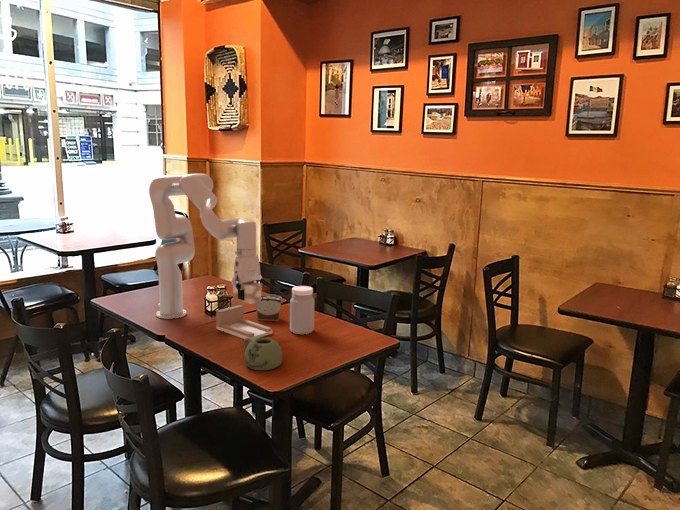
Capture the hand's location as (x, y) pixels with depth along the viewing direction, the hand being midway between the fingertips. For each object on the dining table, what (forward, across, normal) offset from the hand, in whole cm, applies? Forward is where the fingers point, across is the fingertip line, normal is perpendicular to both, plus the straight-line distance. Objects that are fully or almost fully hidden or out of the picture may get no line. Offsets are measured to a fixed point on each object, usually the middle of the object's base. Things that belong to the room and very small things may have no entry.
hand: (246, 297), depth 212 cm
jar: (+15, +16, -15) cm, 26 cm away
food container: (+15, +19, +7) cm, 25 cm away
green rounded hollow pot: (+15, -18, -28) cm, 36 cm away
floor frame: (+14, 0, +2) cm, 14 cm away
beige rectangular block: (+1, 0, 0) cm, 1 cm away
